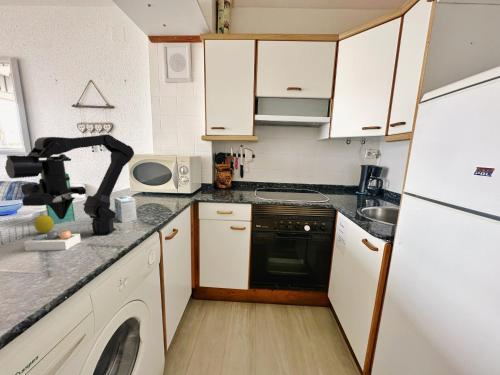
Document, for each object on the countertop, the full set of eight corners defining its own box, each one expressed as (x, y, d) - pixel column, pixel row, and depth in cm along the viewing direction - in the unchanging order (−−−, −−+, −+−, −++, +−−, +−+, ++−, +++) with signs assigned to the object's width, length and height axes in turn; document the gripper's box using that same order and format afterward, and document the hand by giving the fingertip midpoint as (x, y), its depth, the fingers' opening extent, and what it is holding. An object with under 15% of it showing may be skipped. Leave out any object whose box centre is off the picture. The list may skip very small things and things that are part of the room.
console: (44, 241, 78) (42, 234, 77) (80, 241, 79) (79, 233, 78) (25, 250, 71) (24, 242, 70) (66, 249, 72) (64, 241, 71)
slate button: (50, 241, 76) (48, 234, 75) (42, 245, 73) (41, 237, 72) (41, 242, 76) (40, 234, 75) (33, 245, 73) (32, 237, 72)
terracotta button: (73, 238, 76) (72, 230, 76) (67, 241, 73) (65, 233, 73) (64, 238, 76) (63, 230, 76) (58, 242, 73) (56, 233, 73)
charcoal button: (61, 238, 76) (60, 230, 76) (54, 242, 73) (53, 234, 73) (52, 238, 76) (51, 230, 75) (45, 242, 73) (44, 234, 72)
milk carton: (75, 220, 102) (67, 169, 98) (49, 224, 96) (40, 170, 91) (72, 216, 108) (65, 168, 104) (48, 220, 102) (39, 169, 97)
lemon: (53, 230, 90) (50, 212, 88) (56, 233, 86) (53, 214, 85) (35, 233, 85) (32, 214, 84) (37, 237, 82) (33, 217, 80)
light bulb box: (115, 218, 106) (113, 197, 104) (130, 215, 111) (128, 195, 109) (122, 223, 99) (120, 200, 97) (137, 219, 104) (135, 198, 102)
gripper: (54, 172, 80) (60, 211, 82) (-2, 178, 61) (8, 229, 64) (84, 172, 80) (89, 211, 83) (37, 178, 62) (46, 228, 64)
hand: (61, 219), depth 74 cm, fingers closed
